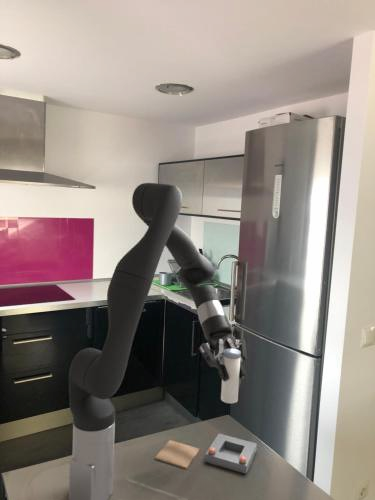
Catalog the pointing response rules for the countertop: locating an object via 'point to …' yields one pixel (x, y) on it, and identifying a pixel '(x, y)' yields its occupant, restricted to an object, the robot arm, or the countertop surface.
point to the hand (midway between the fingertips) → (234, 378)
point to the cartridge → (231, 376)
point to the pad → (177, 454)
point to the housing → (231, 453)
